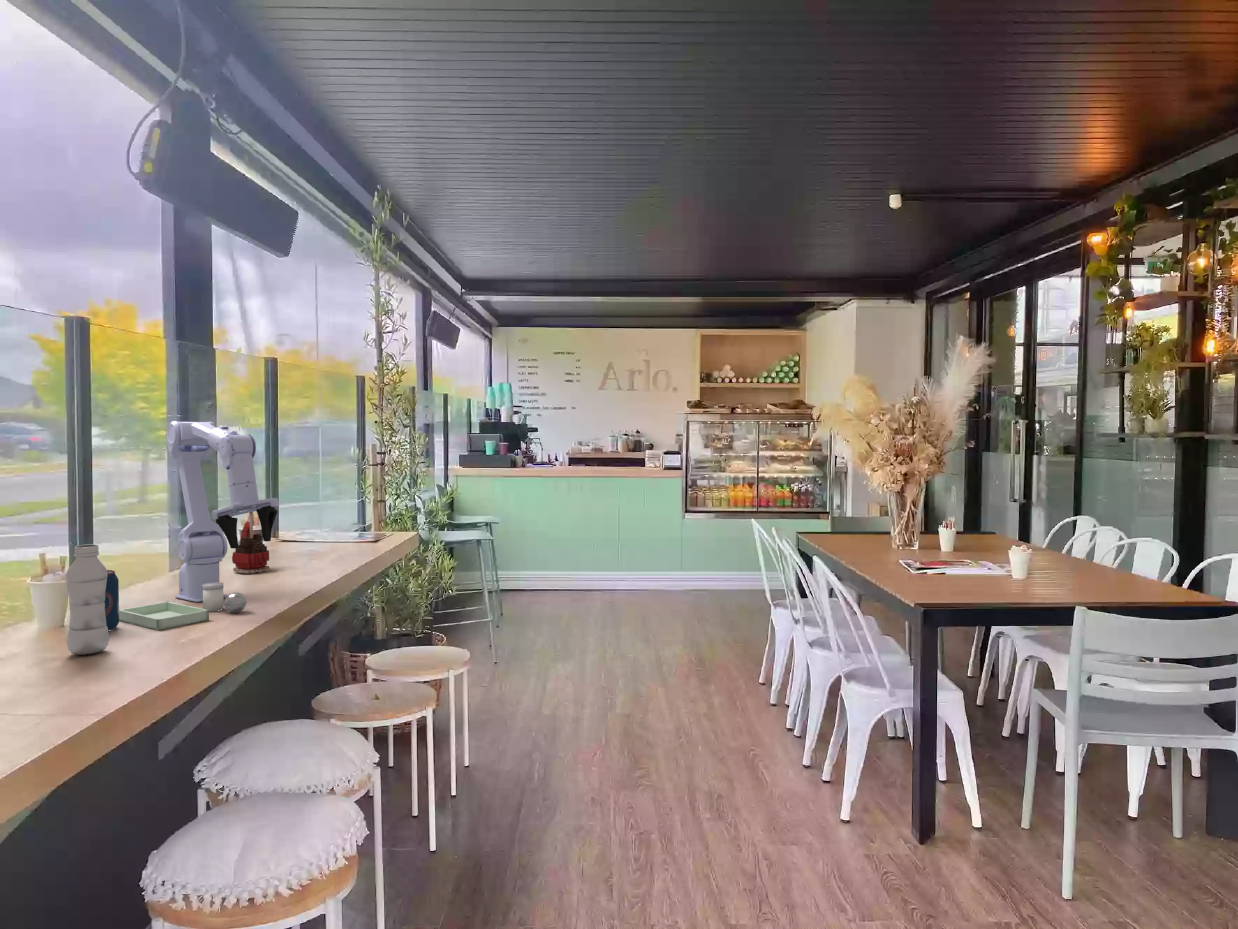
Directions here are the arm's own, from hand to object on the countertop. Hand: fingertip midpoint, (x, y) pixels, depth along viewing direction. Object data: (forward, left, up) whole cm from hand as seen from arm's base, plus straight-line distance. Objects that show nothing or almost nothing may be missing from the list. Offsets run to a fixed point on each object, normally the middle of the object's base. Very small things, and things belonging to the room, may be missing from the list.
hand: (250, 544), depth 181 cm
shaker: (-11, -2, -16) cm, 20 cm away
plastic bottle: (+5, -36, -16) cm, 40 cm away
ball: (-4, -1, -13) cm, 14 cm away
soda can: (-12, -26, -16) cm, 33 cm away
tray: (-10, -14, -16) cm, 24 cm away
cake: (-49, +33, -16) cm, 61 cm away
